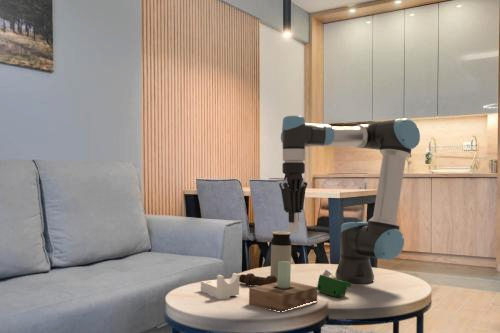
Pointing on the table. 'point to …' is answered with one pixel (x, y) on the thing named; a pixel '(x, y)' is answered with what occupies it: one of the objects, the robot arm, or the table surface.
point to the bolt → (257, 279)
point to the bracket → (221, 287)
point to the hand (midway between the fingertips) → (293, 232)
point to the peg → (284, 275)
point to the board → (282, 296)
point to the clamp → (332, 286)
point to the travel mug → (280, 250)
